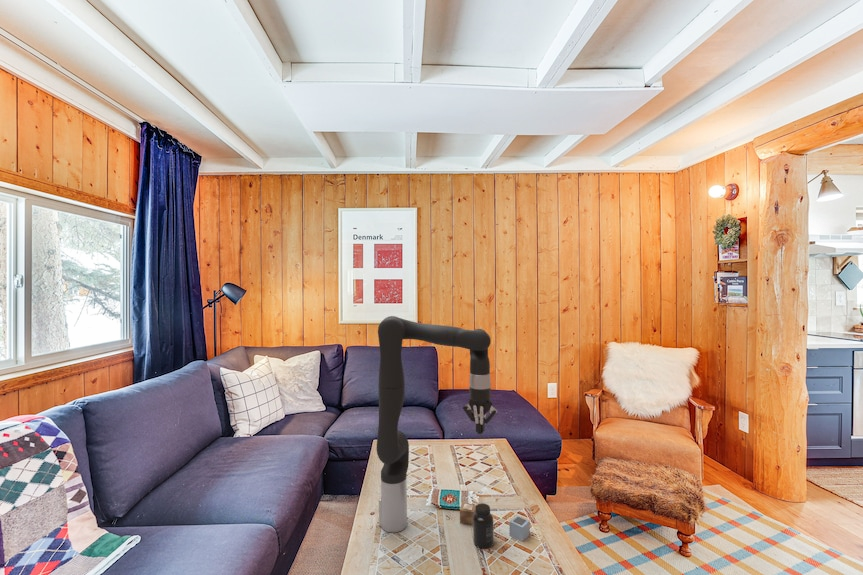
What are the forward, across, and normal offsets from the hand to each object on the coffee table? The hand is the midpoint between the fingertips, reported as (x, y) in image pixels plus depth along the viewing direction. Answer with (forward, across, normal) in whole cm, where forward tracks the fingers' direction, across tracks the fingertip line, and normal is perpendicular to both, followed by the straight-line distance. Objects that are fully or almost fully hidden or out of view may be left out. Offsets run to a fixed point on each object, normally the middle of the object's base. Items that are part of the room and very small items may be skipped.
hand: (480, 433), depth 143 cm
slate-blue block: (+33, +14, 0) cm, 36 cm away
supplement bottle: (+33, +4, -9) cm, 35 cm away
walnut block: (+33, -5, 0) cm, 33 cm away
